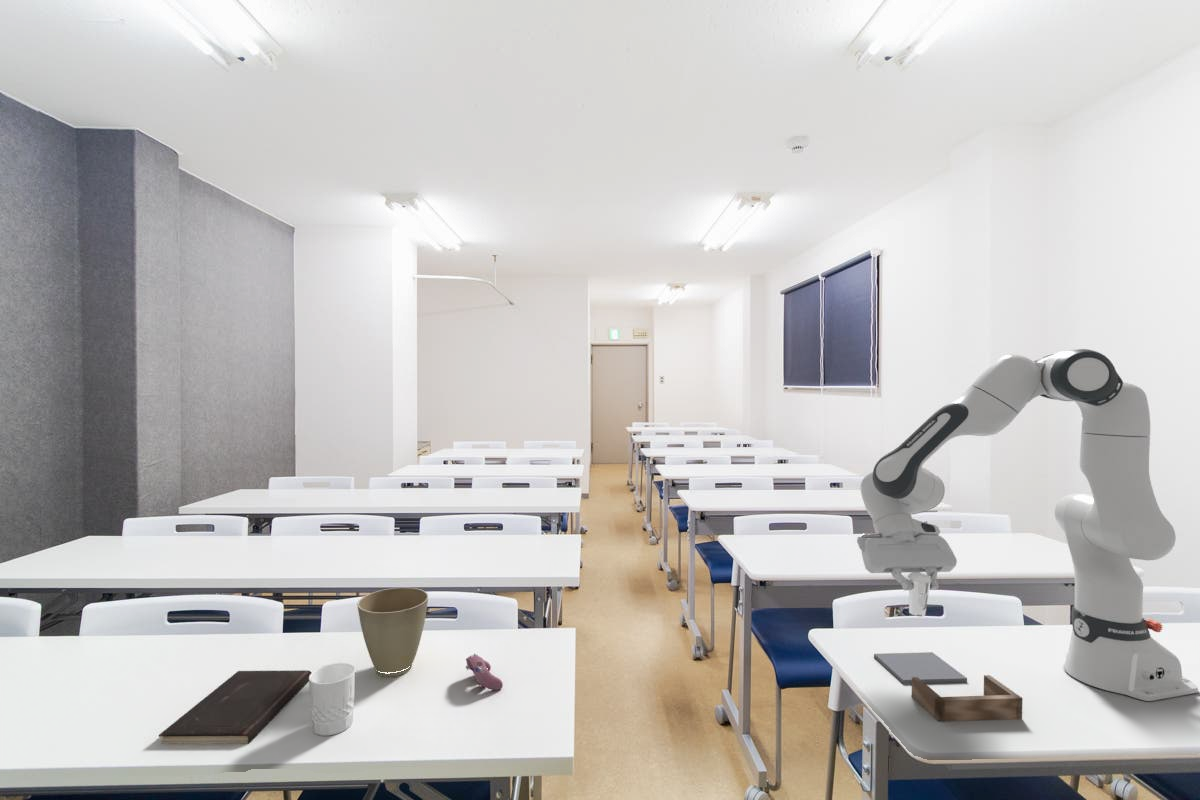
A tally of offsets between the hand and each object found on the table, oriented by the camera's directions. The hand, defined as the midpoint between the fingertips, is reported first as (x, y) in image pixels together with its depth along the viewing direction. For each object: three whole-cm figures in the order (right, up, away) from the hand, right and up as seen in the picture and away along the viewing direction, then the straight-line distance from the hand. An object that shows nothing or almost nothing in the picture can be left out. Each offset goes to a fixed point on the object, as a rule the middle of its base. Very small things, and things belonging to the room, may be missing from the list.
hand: (921, 589), depth 129 cm
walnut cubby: (+1, -19, -14) cm, 23 cm away
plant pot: (-117, -19, +2) cm, 119 cm away
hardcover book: (-142, -20, -14) cm, 144 cm away
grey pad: (0, -18, +1) cm, 18 cm away
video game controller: (-96, -19, -4) cm, 98 cm away
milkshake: (0, -6, +1) cm, 6 cm away
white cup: (-121, -19, -20) cm, 124 cm away
